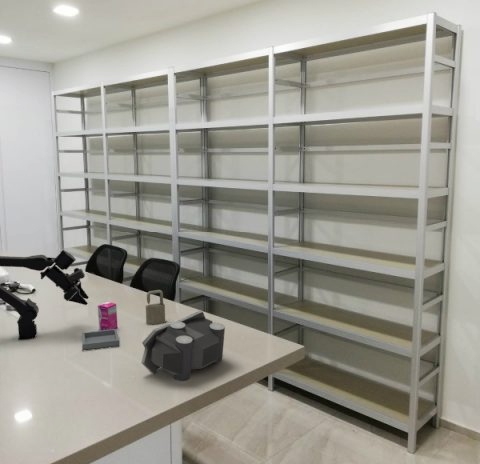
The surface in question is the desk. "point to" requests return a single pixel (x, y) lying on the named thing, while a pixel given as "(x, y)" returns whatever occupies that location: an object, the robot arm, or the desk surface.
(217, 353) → the electronic device
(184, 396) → the desk surface
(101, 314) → the supplement box
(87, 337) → the tray
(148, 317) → the padlock
